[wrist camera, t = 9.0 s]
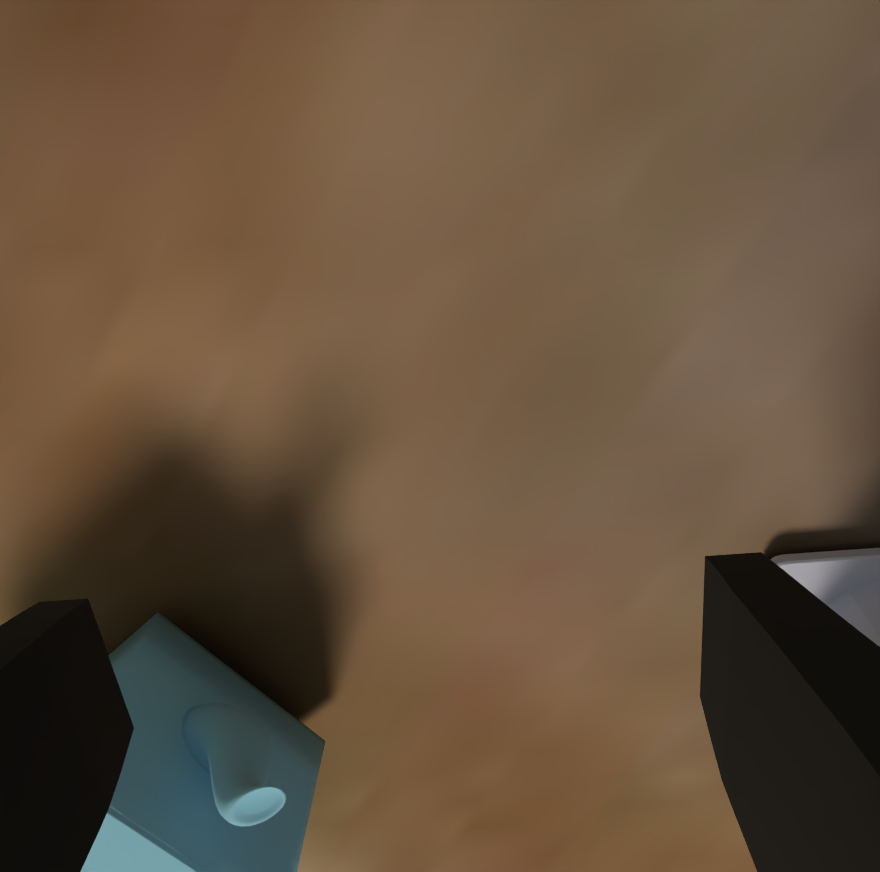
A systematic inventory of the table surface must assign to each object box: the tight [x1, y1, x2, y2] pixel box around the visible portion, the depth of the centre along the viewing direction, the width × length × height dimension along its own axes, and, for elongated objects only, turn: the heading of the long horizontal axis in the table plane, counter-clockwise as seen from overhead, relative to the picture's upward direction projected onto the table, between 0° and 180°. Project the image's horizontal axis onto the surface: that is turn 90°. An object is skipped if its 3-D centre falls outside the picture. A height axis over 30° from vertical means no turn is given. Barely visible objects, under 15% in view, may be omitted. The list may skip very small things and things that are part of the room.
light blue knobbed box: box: [81, 612, 325, 872], centre depth 21 cm, size 12×6×8 cm, turn 133°
